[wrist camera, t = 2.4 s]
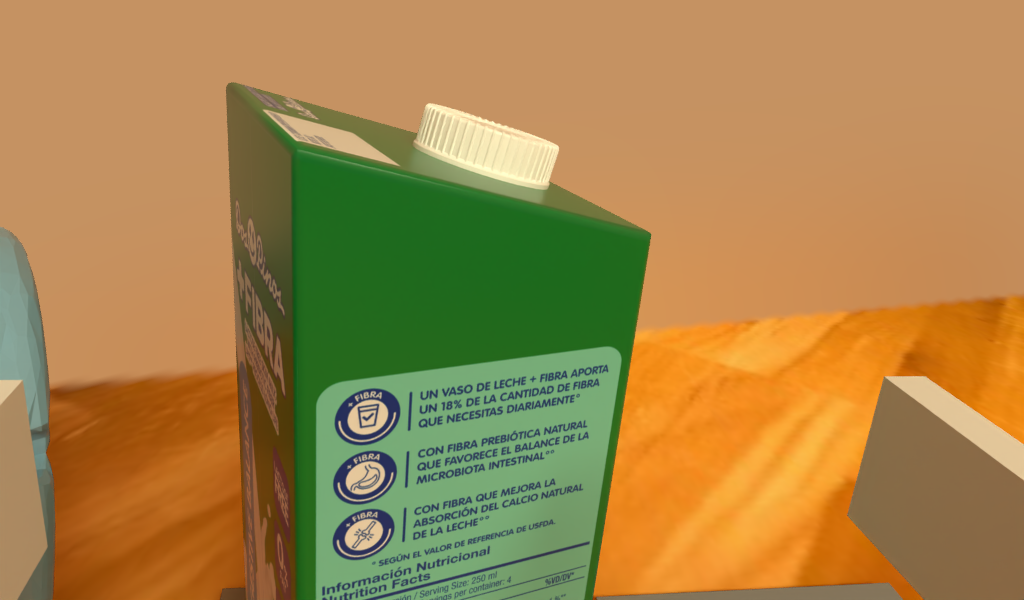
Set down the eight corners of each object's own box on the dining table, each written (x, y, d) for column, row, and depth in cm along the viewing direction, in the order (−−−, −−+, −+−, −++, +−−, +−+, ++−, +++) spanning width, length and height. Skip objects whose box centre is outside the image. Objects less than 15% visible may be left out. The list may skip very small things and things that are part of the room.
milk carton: (556, 841, 28) (670, 141, 19) (300, 955, 24) (292, 140, 15) (458, 656, 36) (507, 87, 27) (249, 720, 32) (224, 76, 23)
